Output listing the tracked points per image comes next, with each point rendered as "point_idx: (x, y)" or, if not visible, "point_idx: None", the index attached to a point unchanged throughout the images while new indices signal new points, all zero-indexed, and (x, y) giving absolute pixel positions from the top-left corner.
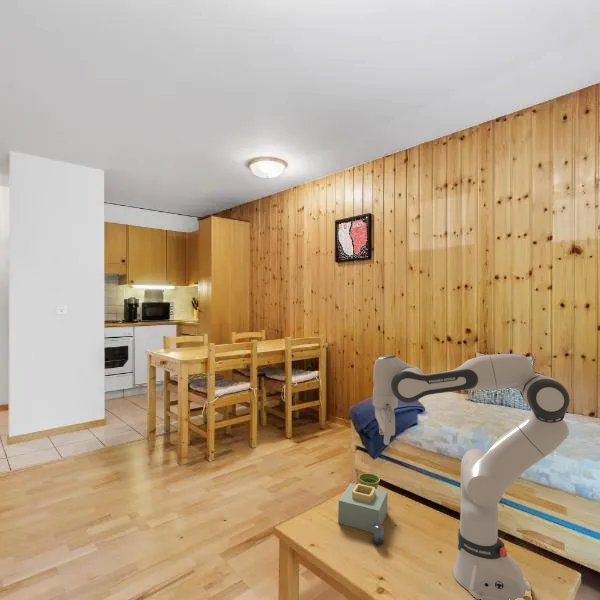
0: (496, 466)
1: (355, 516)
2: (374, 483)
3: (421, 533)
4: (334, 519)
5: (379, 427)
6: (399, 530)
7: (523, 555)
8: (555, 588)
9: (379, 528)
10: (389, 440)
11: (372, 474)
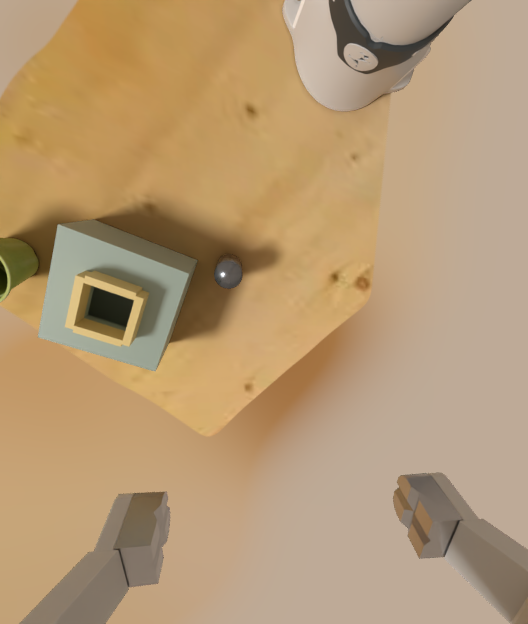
0: None
1: (175, 319)
2: (3, 258)
3: (177, 139)
4: None
5: (109, 614)
6: (173, 202)
7: None
8: None
9: (237, 273)
10: (473, 512)
11: None
